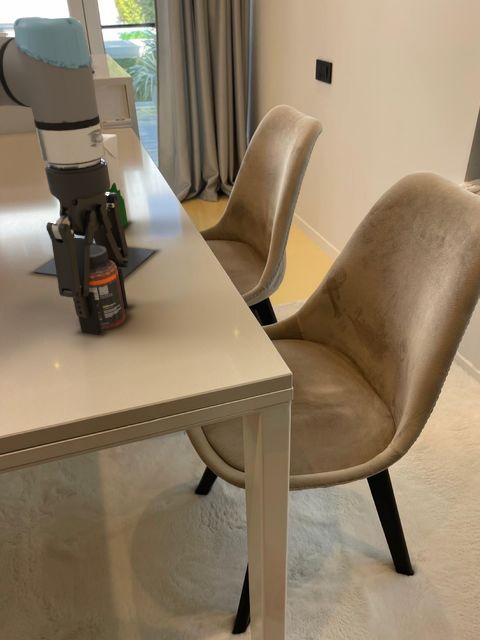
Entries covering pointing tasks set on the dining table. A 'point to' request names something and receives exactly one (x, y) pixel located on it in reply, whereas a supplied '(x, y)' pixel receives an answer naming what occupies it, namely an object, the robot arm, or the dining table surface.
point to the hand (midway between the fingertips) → (105, 320)
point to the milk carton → (114, 172)
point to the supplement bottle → (105, 288)
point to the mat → (133, 260)
